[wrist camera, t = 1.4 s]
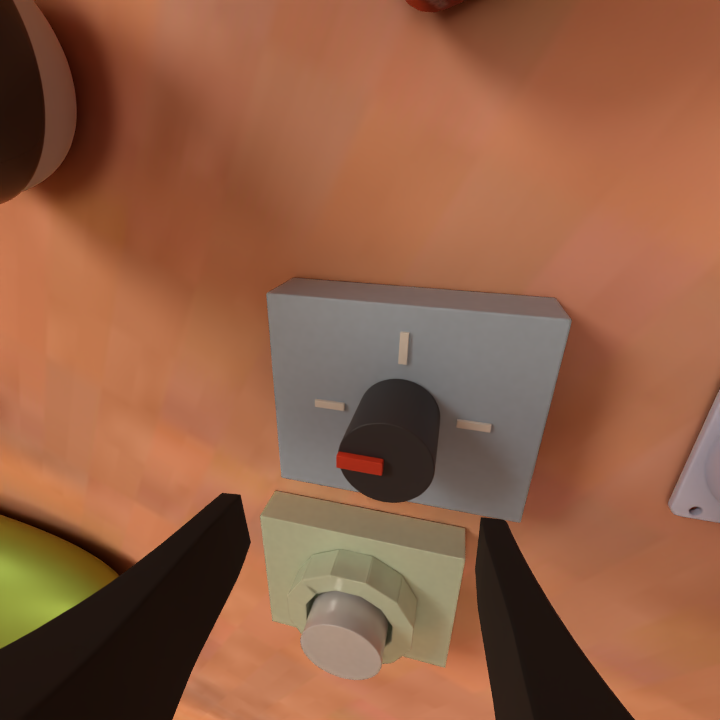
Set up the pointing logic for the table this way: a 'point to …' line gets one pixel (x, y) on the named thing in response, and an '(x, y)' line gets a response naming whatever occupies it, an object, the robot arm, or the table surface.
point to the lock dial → (391, 442)
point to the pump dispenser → (32, 99)
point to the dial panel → (419, 380)
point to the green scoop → (42, 578)
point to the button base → (366, 569)
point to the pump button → (345, 635)
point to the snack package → (433, 4)
